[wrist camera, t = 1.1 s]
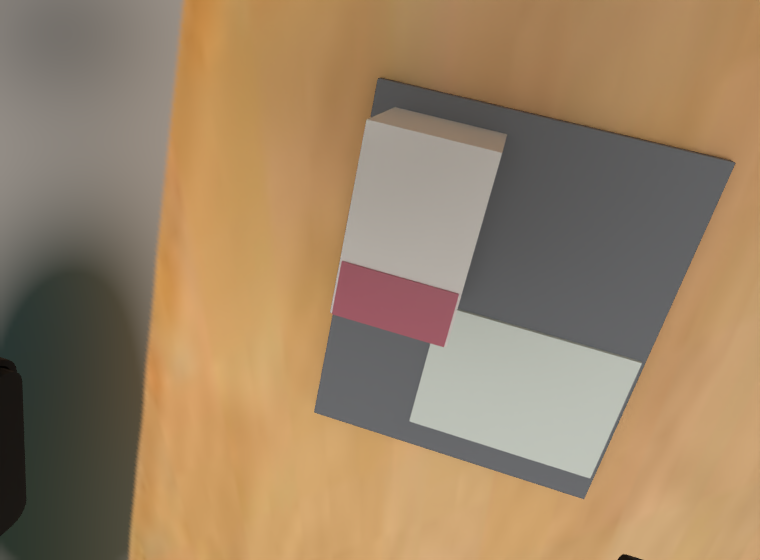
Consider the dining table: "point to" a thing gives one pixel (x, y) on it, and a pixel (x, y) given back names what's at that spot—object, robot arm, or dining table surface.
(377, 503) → the dining table surface
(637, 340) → the mat
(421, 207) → the card deck case
